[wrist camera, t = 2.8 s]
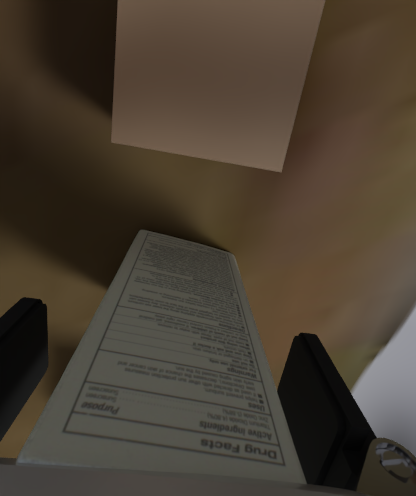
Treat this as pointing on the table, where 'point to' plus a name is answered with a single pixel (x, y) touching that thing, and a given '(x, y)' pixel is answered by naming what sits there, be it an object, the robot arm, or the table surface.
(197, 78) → the tan cube
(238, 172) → the table surface
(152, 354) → the box
